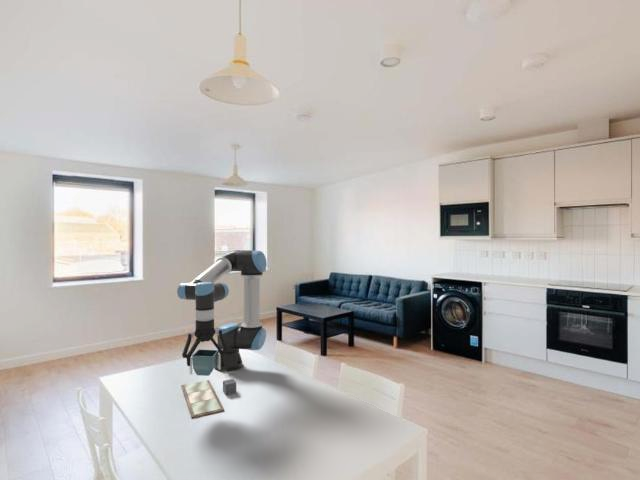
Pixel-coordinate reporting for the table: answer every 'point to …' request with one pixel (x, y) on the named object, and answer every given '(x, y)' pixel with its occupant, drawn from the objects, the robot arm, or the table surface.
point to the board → (201, 399)
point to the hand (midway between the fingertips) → (205, 370)
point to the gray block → (229, 387)
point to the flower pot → (204, 361)
